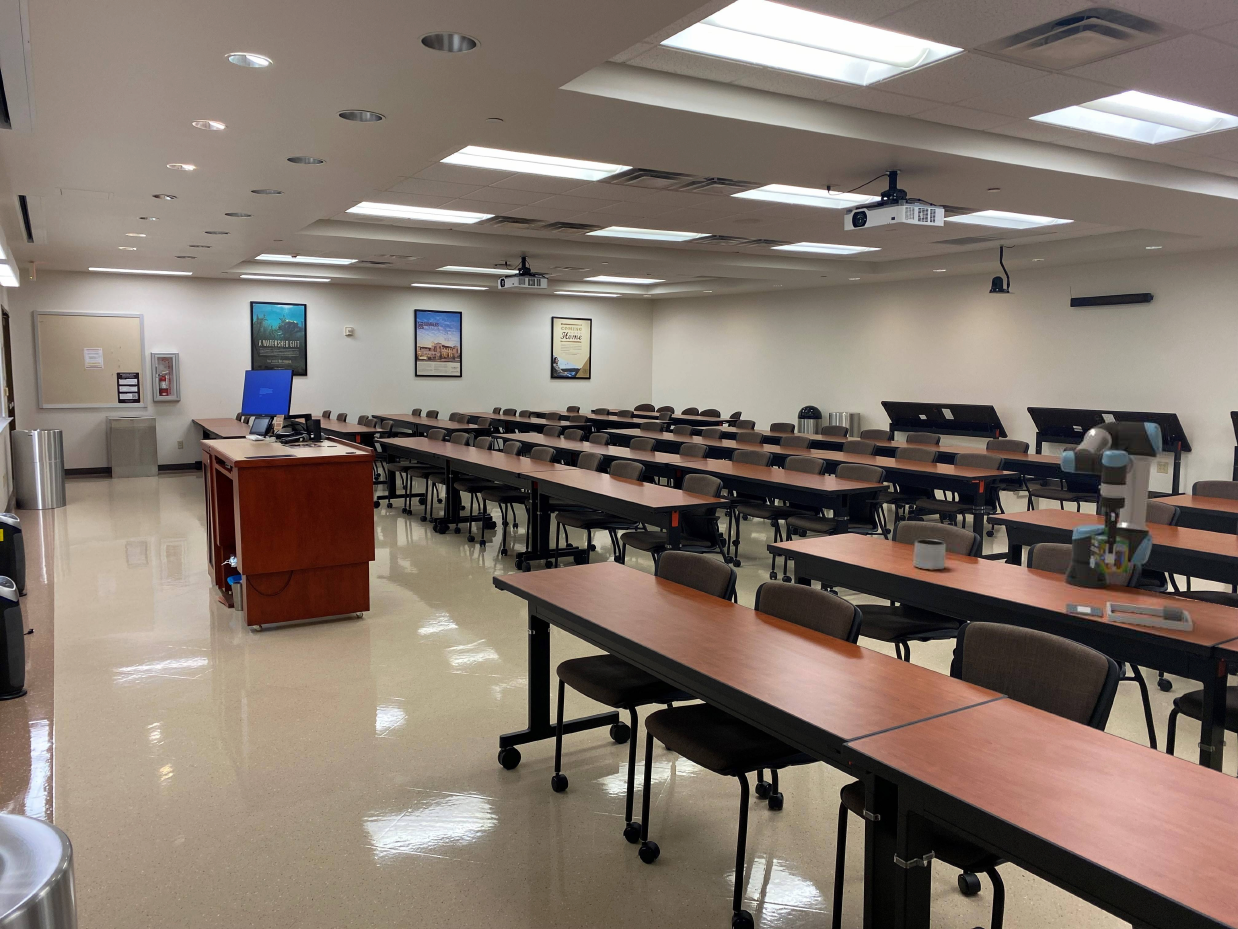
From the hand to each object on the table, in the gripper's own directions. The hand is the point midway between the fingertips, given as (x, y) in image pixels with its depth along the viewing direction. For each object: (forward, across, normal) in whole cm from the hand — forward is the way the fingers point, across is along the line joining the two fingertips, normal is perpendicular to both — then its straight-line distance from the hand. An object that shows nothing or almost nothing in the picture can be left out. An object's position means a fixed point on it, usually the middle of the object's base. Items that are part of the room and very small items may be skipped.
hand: (1108, 559), depth 292 cm
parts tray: (+20, +1, +13) cm, 23 cm away
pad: (+20, 0, -6) cm, 20 cm away
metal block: (+20, +2, +20) cm, 28 cm away
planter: (+20, -44, -63) cm, 79 cm away
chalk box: (+4, 0, 0) cm, 4 cm away
